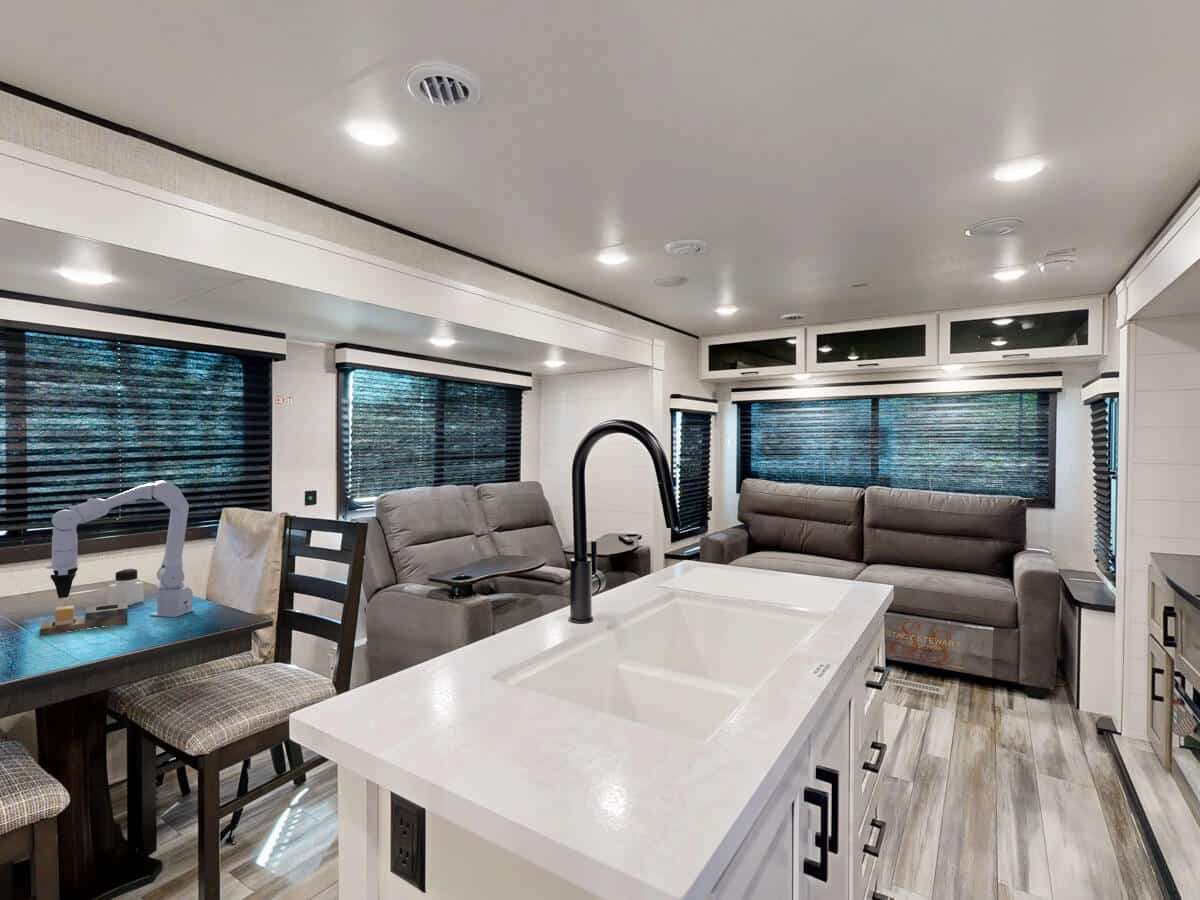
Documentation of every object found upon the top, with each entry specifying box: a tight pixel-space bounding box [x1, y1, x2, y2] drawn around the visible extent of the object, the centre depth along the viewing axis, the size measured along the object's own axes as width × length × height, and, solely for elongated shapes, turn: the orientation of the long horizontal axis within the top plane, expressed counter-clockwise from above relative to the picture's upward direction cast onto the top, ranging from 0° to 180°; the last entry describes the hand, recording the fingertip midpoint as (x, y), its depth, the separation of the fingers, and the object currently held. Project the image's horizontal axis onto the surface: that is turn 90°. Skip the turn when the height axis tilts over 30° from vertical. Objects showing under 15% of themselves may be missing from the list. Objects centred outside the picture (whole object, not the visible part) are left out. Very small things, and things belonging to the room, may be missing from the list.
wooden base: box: [39, 602, 129, 637], centre depth 183 cm, size 20×9×5 cm, turn 129°
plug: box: [54, 604, 75, 626], centre depth 180 cm, size 4×4×6 cm
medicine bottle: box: [107, 568, 145, 606], centre depth 209 cm, size 7×7×12 cm
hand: (64, 595), depth 180 cm, fingers open, 7 cm apart
